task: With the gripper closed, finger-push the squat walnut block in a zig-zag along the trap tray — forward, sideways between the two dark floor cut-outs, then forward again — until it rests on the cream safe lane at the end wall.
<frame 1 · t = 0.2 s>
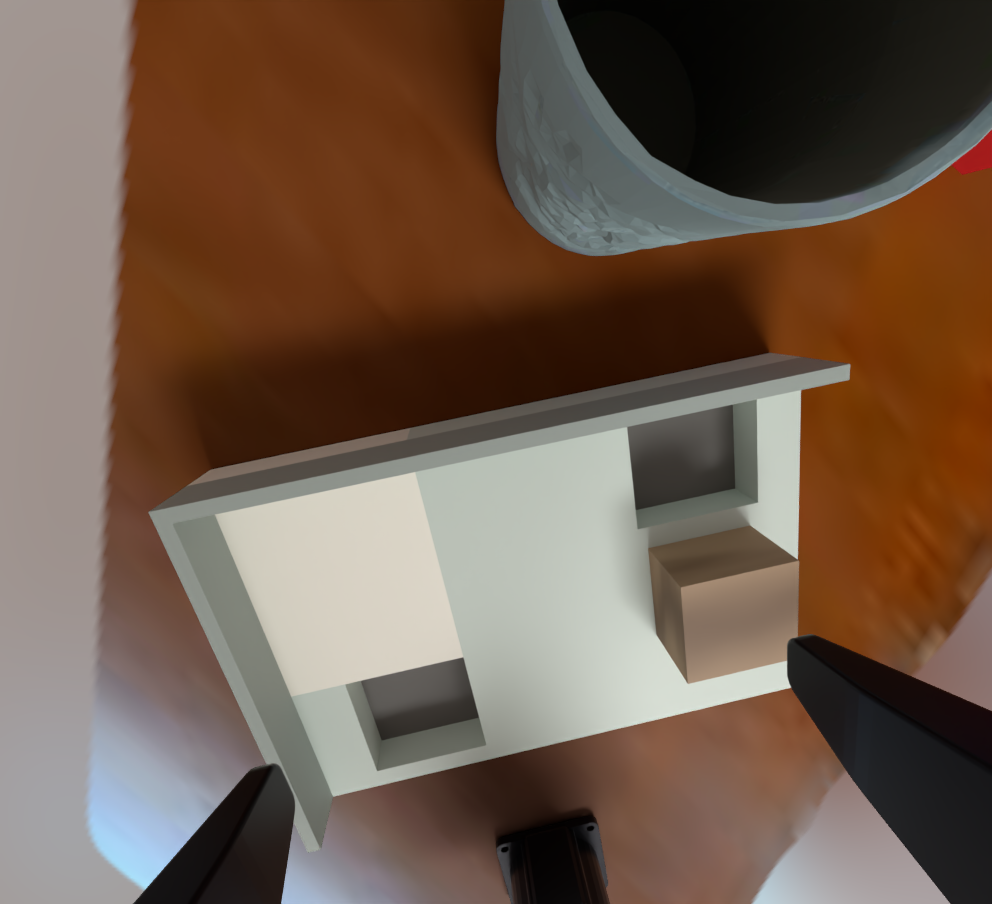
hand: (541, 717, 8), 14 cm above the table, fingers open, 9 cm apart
trap tray: (529, 577, 24), on the table
block: (701, 581, 23), point 2 cm above the table, touching trap tray
grey cup: (597, 136, 18), on the table
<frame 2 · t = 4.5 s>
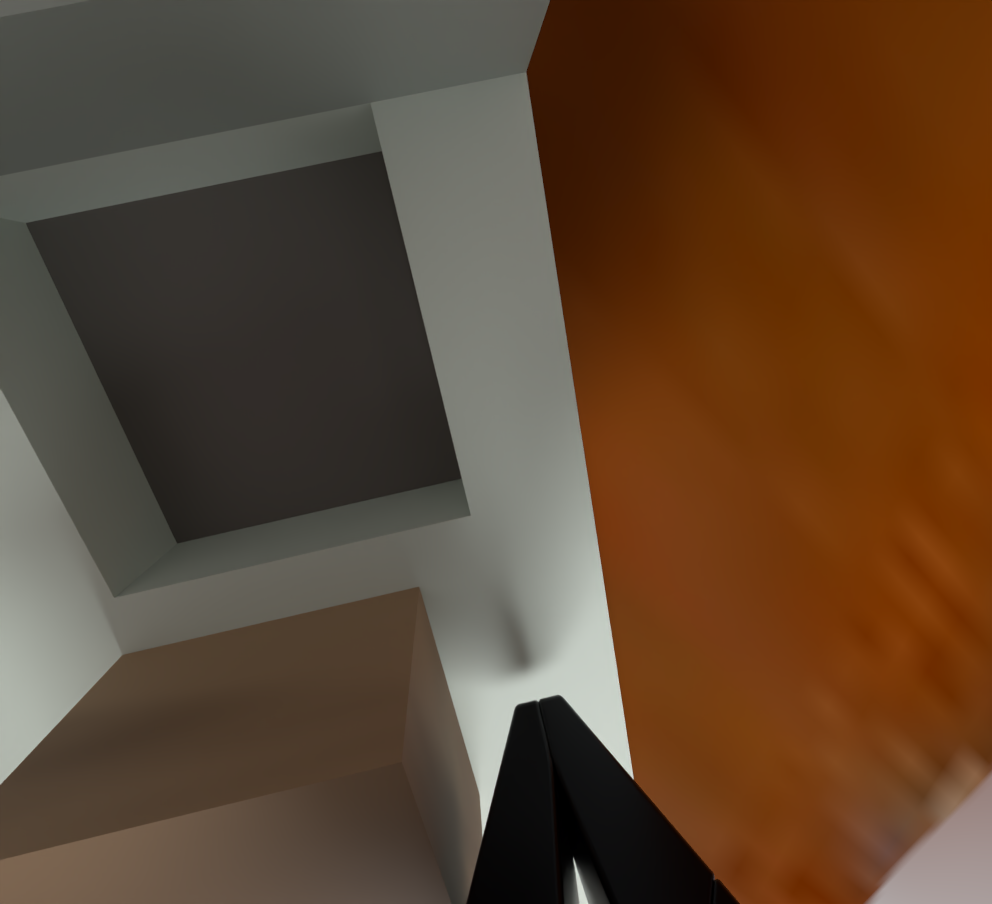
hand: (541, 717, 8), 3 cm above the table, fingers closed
block: (319, 731, 9), point 2 cm above the table, touching gripper
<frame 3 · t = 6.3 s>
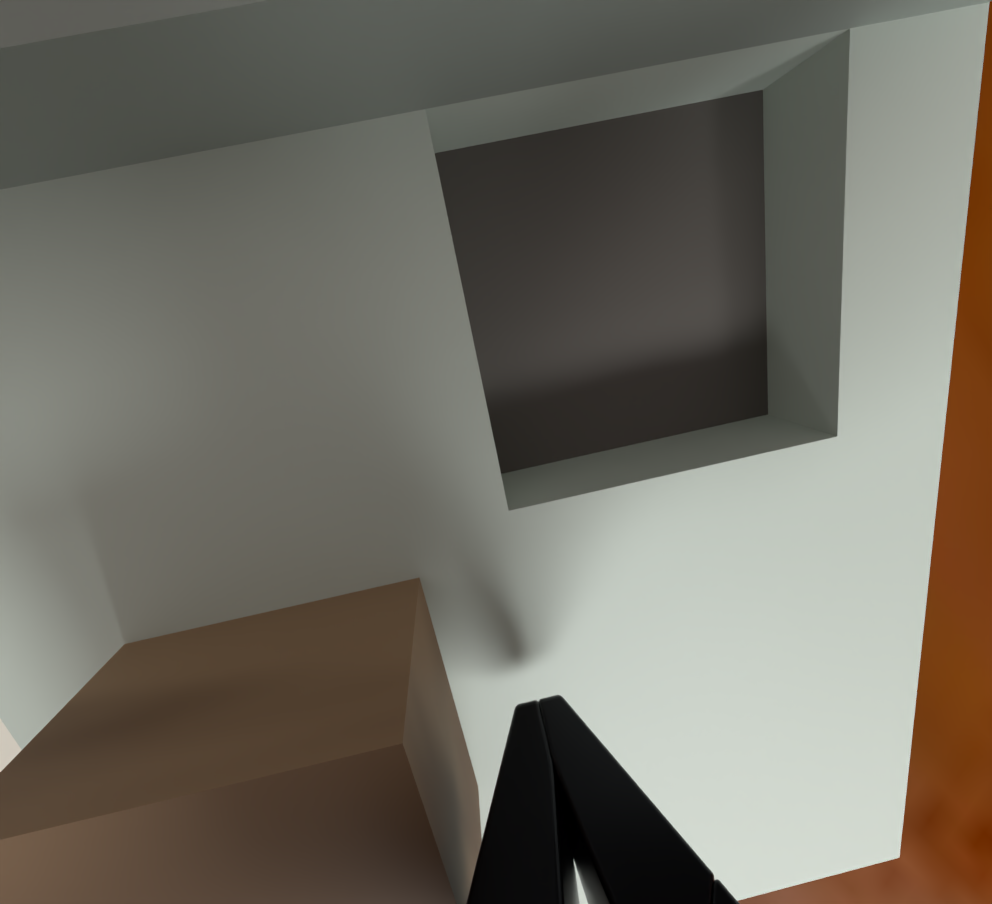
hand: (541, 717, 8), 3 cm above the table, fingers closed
trap tray: (289, 631, 10), on the table
block: (319, 722, 9), point 2 cm above the table, touching trap tray
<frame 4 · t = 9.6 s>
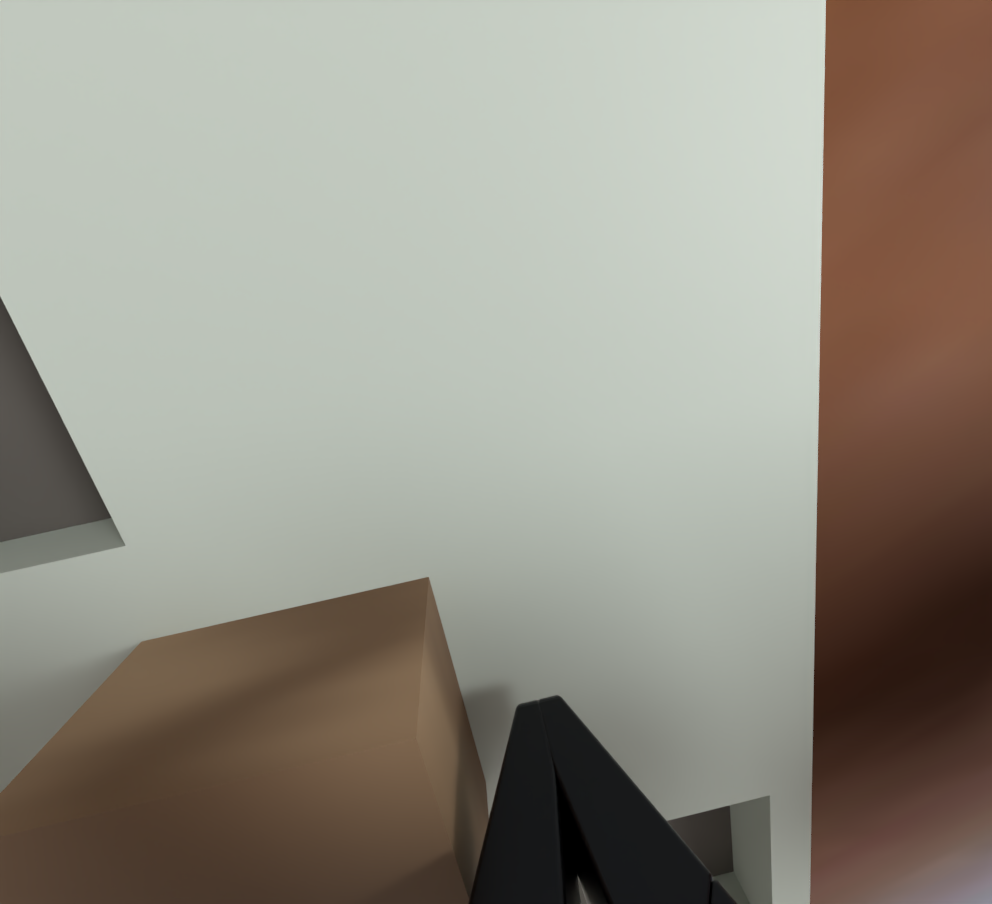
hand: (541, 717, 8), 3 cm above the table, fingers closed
trap tray: (388, 672, 11), on the table
block: (330, 718, 9), point 2 cm above the table, touching gripper
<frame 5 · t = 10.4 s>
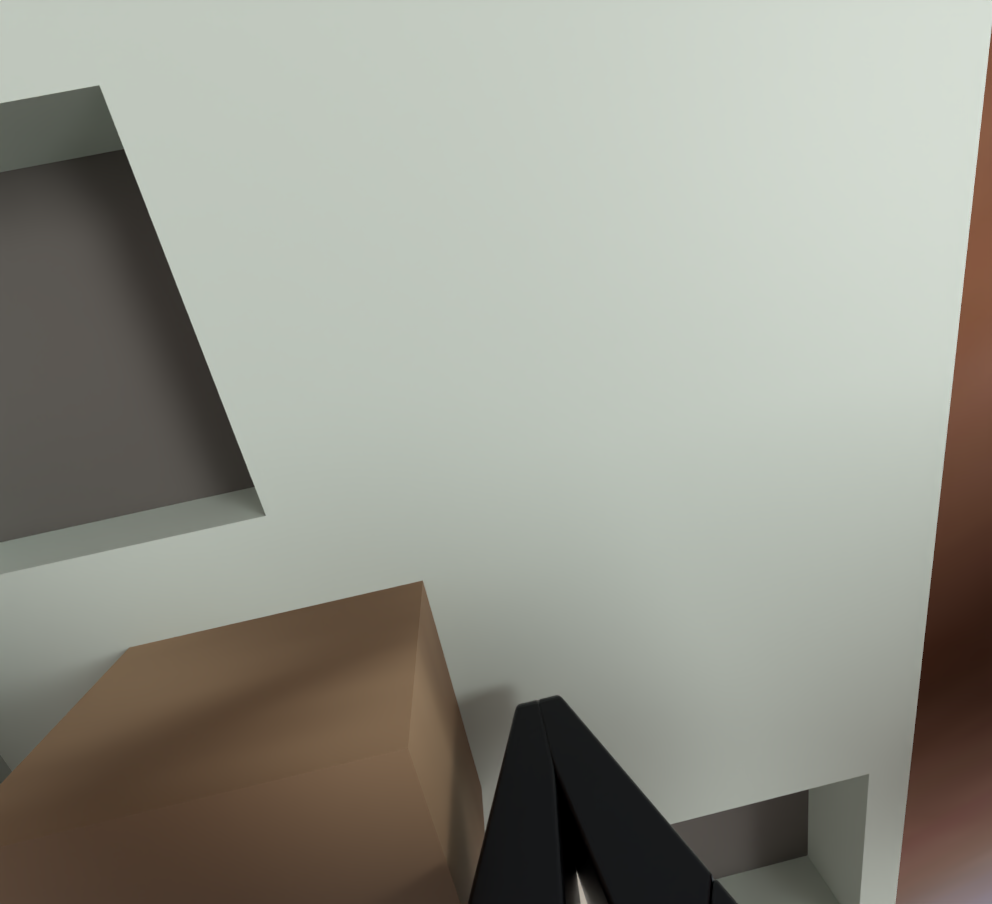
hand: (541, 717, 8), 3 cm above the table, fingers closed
trap tray: (483, 652, 11), on the table
block: (323, 724, 9), point 2 cm above the table, touching gripper, trap tray
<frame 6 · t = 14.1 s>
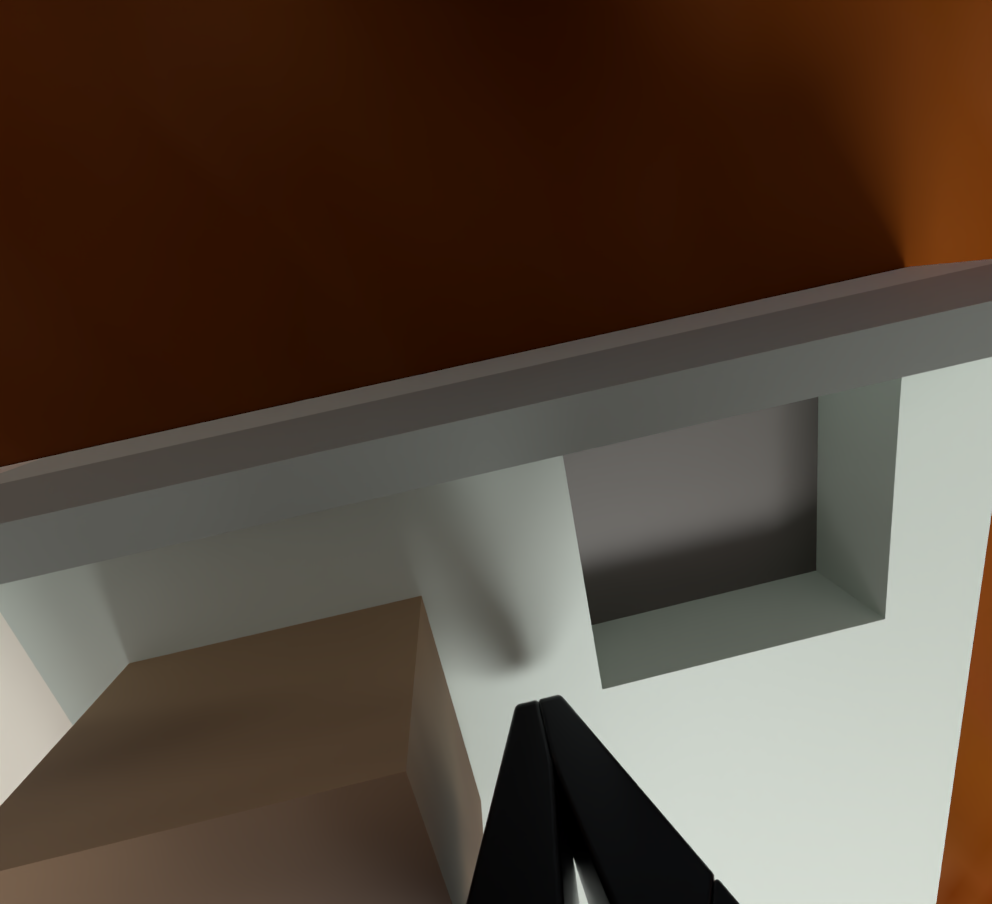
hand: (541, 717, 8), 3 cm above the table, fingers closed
trap tray: (387, 758, 11), on the table
block: (322, 738, 9), point 2 cm above the table, touching trap tray
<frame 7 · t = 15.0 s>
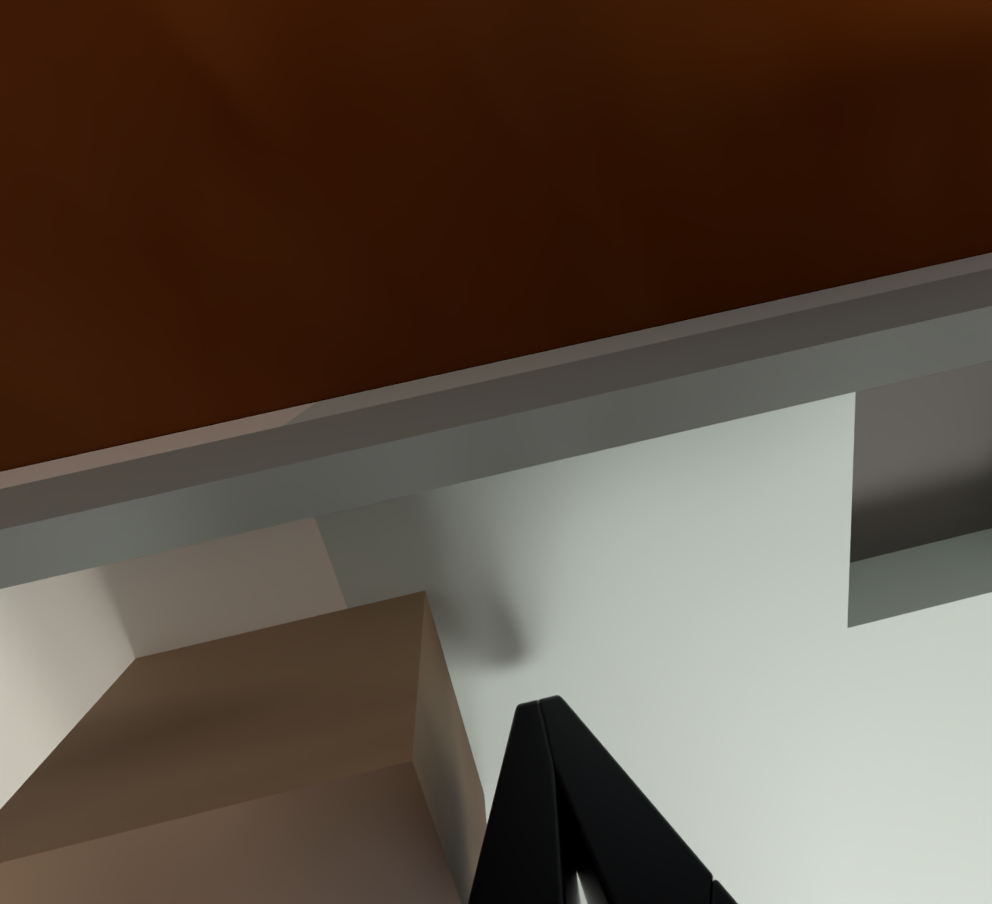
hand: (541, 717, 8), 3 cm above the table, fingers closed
trap tray: (585, 709, 12), on the table
block: (327, 733, 9), point 2 cm above the table, touching gripper, trap tray
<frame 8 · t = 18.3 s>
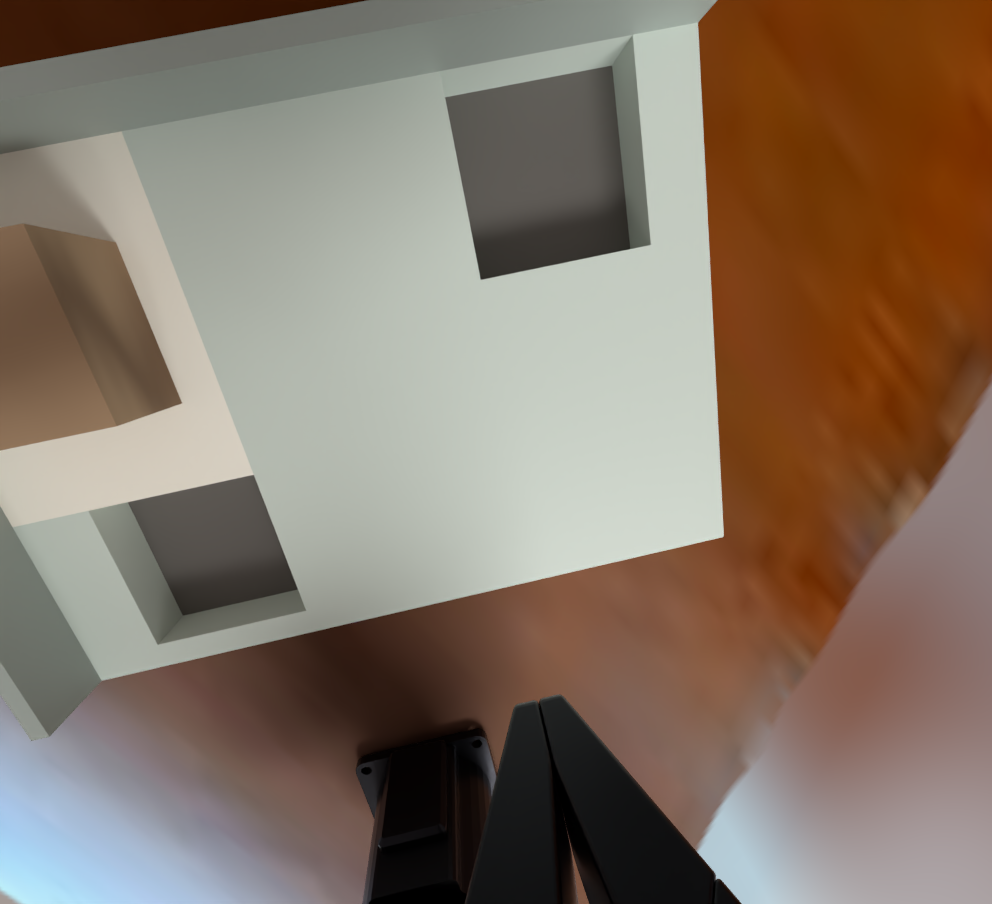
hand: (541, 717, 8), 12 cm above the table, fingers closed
trap tray: (358, 381, 18), on the table
block: (70, 343, 15), point 2 cm above the table, touching trap tray
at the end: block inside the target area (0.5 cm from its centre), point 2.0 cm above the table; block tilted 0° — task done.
